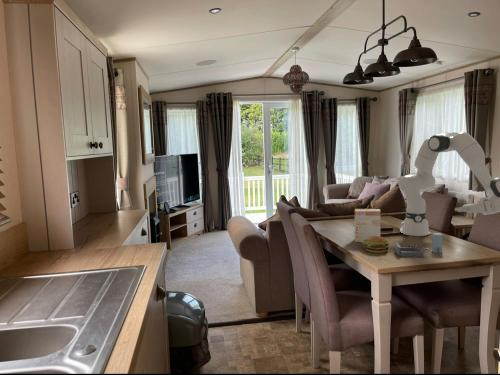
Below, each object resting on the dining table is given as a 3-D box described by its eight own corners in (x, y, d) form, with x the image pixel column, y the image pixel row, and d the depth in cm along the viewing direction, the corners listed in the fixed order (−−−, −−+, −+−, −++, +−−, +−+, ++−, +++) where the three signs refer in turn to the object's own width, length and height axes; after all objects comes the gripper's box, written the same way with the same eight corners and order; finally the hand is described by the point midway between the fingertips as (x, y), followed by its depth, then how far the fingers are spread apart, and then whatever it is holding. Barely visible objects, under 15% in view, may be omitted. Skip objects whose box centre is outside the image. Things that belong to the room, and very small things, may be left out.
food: (358, 247, 224) (358, 234, 223) (382, 246, 225) (382, 233, 224) (368, 254, 210) (368, 240, 209) (393, 253, 211) (393, 239, 211)
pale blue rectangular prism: (432, 250, 214) (432, 233, 213) (439, 250, 213) (440, 233, 212) (434, 252, 210) (434, 234, 209) (442, 253, 210) (442, 234, 208)
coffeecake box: (379, 240, 239) (380, 208, 237) (380, 243, 233) (380, 211, 230) (354, 239, 243) (354, 208, 241) (354, 242, 237) (354, 210, 234)
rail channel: (395, 251, 214) (395, 242, 214) (419, 252, 212) (419, 243, 212) (398, 256, 205) (398, 247, 204) (423, 257, 203) (424, 247, 202)
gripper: (480, 199, 213) (452, 203, 217) (489, 200, 193) (458, 204, 198) (482, 211, 212) (454, 214, 217) (491, 212, 193) (460, 216, 198)
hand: (456, 210), depth 207 cm, fingers open, 8 cm apart
